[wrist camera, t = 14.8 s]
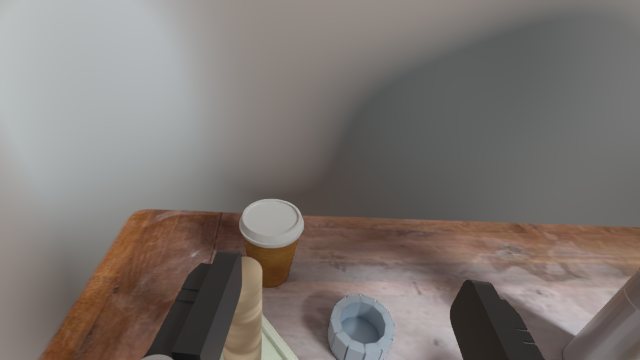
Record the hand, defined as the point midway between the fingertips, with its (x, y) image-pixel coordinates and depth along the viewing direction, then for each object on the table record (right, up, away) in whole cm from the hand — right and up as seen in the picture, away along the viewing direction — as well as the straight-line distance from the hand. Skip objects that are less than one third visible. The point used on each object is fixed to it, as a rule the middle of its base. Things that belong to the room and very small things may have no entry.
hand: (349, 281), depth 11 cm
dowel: (-10, -20, +25) cm, 34 cm away
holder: (+4, -19, +32) cm, 37 cm away
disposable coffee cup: (-9, -12, +40) cm, 43 cm away
